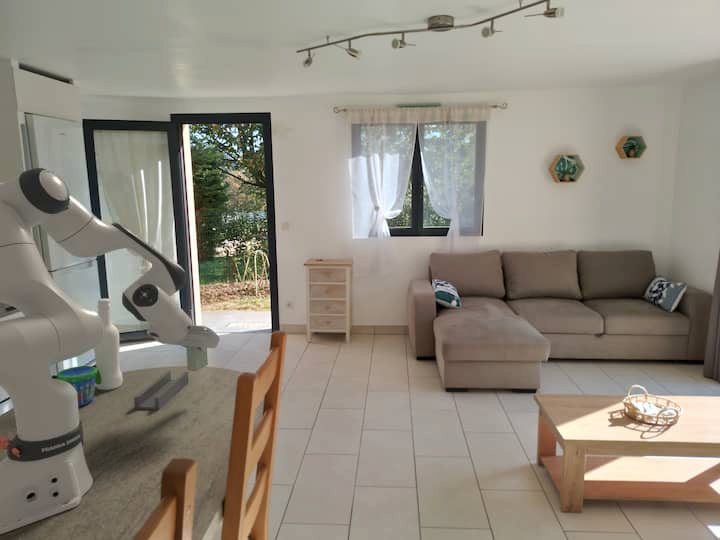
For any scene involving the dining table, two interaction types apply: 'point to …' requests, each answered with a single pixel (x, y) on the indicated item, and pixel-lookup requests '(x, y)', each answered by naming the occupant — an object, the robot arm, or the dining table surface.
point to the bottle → (108, 350)
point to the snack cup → (82, 381)
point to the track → (160, 391)
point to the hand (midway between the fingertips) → (198, 348)
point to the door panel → (196, 358)
